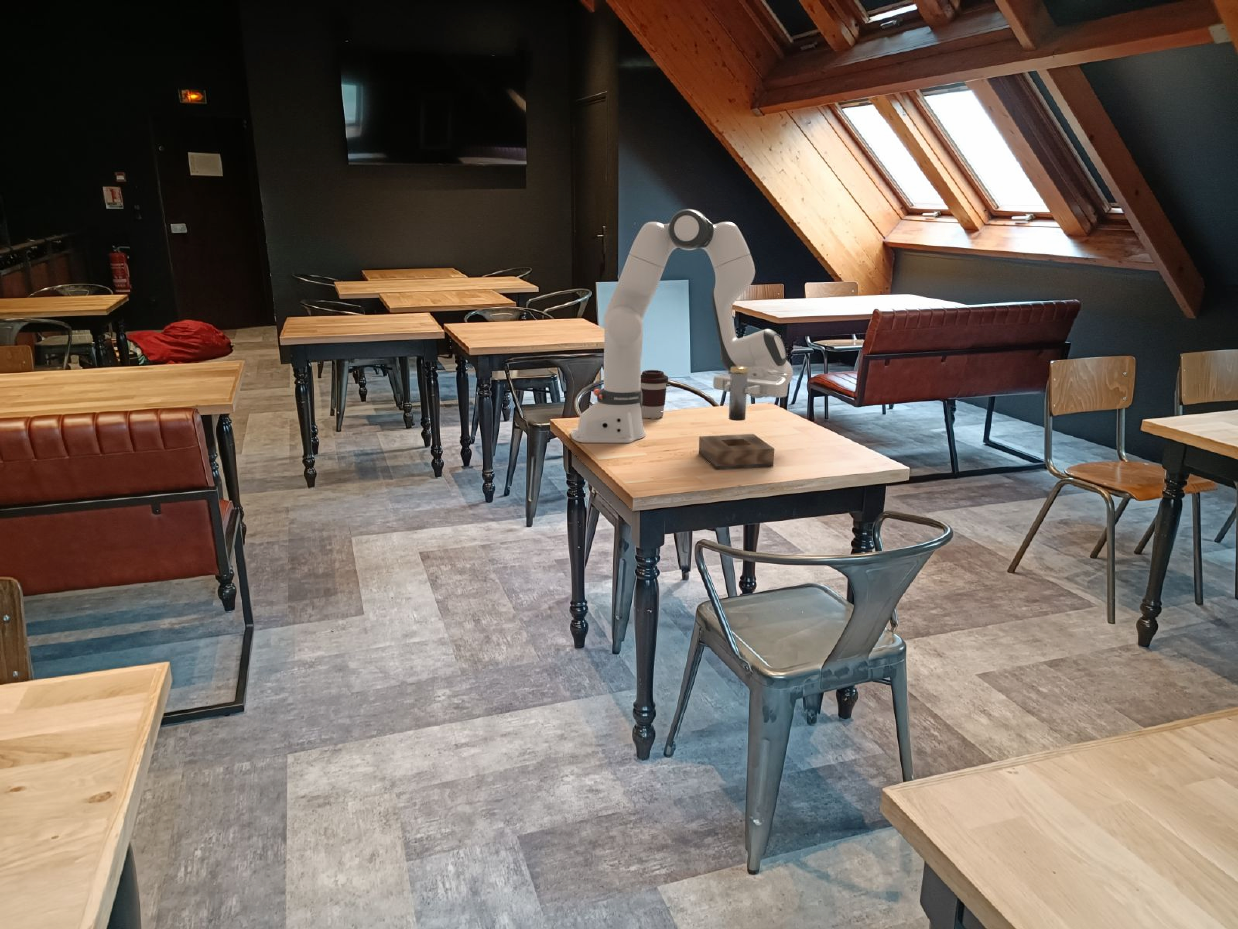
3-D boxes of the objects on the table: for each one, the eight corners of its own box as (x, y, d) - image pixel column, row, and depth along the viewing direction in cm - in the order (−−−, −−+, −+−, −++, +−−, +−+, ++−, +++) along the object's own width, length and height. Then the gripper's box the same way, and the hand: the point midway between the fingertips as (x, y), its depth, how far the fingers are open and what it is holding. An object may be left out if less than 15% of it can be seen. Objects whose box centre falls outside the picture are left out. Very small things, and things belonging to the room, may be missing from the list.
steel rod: (731, 421, 238) (733, 369, 234) (726, 417, 243) (728, 366, 239) (747, 420, 239) (750, 368, 235) (742, 416, 244) (744, 365, 240)
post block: (716, 469, 235) (717, 451, 234) (698, 453, 250) (699, 436, 249) (773, 466, 238) (774, 448, 237) (752, 450, 253) (753, 433, 252)
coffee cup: (631, 414, 295) (632, 370, 291) (657, 412, 299) (658, 368, 295) (646, 421, 287) (646, 375, 282) (672, 418, 291) (673, 373, 287)
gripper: (726, 366, 254) (703, 374, 243) (793, 374, 243) (772, 382, 232) (725, 388, 256) (702, 396, 245) (792, 397, 245) (770, 406, 234)
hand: (736, 389), depth 238 cm, fingers closed on steel rod, 4 cm apart
